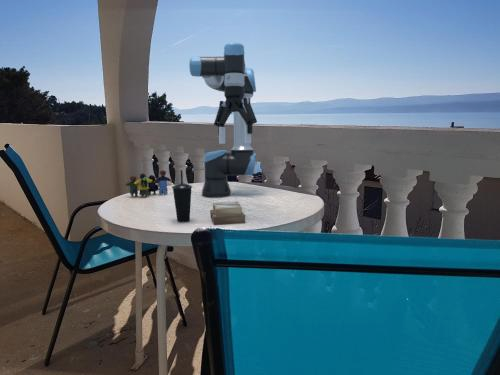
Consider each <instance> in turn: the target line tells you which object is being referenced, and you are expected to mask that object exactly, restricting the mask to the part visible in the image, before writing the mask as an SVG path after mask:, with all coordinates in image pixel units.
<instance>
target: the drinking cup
mask: <svg viewBox="0 0 500 375" xmlns="http://www.w3.org/2000/svg"><path fill="white" fill-rule="evenodd" d="M183 173H184V172H183V170H181V169H180V182H179V183H176V184H175V185H173V186H172V187H171V188H172V192H173V198H174V199H173V200H174V206H175V213H176V214H175V215H176V221H177V222H178V223H187V222H190V221H191V219H190V218H191V205H192V204H191V203H192V202H191V201H192V188H193V185H191V184H188V183H184V179H183V177H184V174H183Z"/></svg>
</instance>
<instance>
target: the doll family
mask: <svg viewBox="0 0 500 375" xmlns="http://www.w3.org/2000/svg"><path fill="white" fill-rule="evenodd" d="M159 174H160V175H161V176H159V177H156V176H155V175H152V174H150V175H149V176H148V178H147V177H146V175H147V174H145V173H140V175H139V179H137V176H135V175H134V176H133V175H132V176H130V177H129V180H130V181H128V182H127V183H126V182H125V186H126V187H127V186H128V187H129V194H130V199H135V198H140V199H147V198H150V197H151V196H152V195H153V196H157V193H156V192H157V191H158V195H159V196H168V187H167V186H168V184H167V182H171V183H172V182H173V180H172V179H171V178H170V177H168V176H166V174H167V171H166V170H164V169H162V170H160V171H159ZM139 196H140V197H139Z"/></svg>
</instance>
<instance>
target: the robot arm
mask: <svg viewBox="0 0 500 375" xmlns="http://www.w3.org/2000/svg"><path fill="white" fill-rule="evenodd" d="M245 53H246V52H245V46H244V45H243V44H242V43H240V42H227V43H226V44H225V45H224V49H223V56H191V58H190V59H189V73H190V76H192V77H197V78H200V77H201V78H202V79H203V80H204V82H205V85H207V87H209V88H210V89H213V90H215V91H218V92H223V93H224V97H225V101H224V100H220V101H219V106H218V109H217V112H216V116H215V119H214V123H213V126H216V127H217V135H218V142H219V143H218V144H221V145H225V144H226V126H225V124H226V123H227V121H228V119H229V117H230V115H231V114H233V146H232V148H231V149H230V152H228V151H227V150H226V149H222V150H221V149H218V150H214V151H208V152H205V154H204V160H203V163H204V183H203V186H202V191H201V196H202V197H205V198H225V197H230V196H231V194H232V191H231V187H230V184H229V182H228V176H244V177H245V176H252V175H253V174H254V172H255V165H256V157H257V156H256V155H257V153H256V152H254V148H253V147H252V146H251V144H252V134H253V125H254V124H257V122H258V120H257V118H256V115H255V111H254V110H253V107H252V104H251V99H252V97H254V93H256V92H257V87H256V79H255V72H254V69H253V68H252V67H246V63H245Z"/></svg>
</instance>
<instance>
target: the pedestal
mask: <svg viewBox="0 0 500 375" xmlns="http://www.w3.org/2000/svg"><path fill="white" fill-rule="evenodd" d="M209 211H210V219H211V222H212V224H213V226H220V225H221V226H222V225H234V224H235V225H237V224H238V225H239V224H246V215H245V213H244V212H243V207H242V205H241V204H240V203H239V202H238V201H221V202H213V203H212V209H210V210H209Z"/></svg>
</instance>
